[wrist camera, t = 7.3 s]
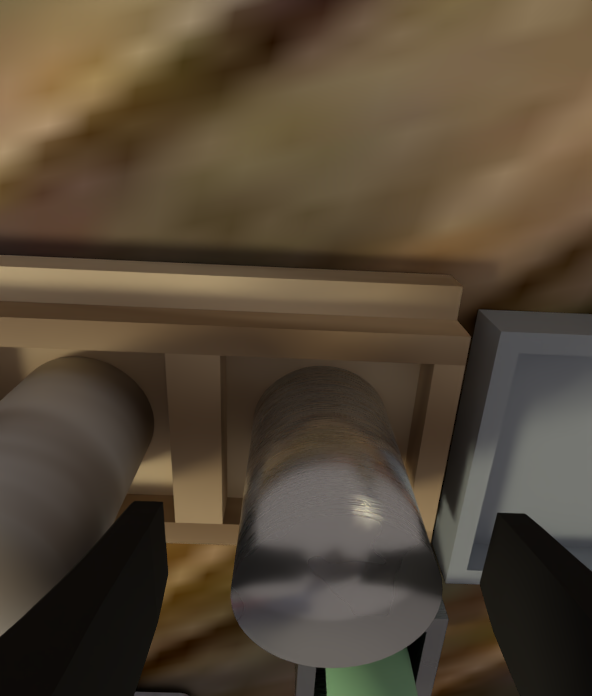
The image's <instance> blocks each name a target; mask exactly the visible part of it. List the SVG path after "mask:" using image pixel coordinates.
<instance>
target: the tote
mask: <svg viewBox="0 0 592 696" xmlns="http://www.w3.org/2000/svg"><path fill="white" fill-rule="evenodd" d="M497 513H525V514H526V515H528V516H529V517H530V518H531V519H533V520H534V521H535V522H536V523H537V524H538V525H540V526H541V527H542V528H543V529H544V530H545V531H547V532H548V533H549V534H550V535H551V536H552V537H553V538H554V539H556V540H557V541H558V542H559V543H560V544H561V545H562V546H564V547H565V548H566V549H567V550H568V551H569V552H570V553H571V554H573V555H574V556H575V557H576V558H577V559H578V560H579V561H580V562H582V563H583V564H584V565H585V566H586V567H587V568H589V569H590V570H591V571H592V314H575V313H552V312H528V311H505V310H482V309H478V313H477V318H476V323H475V329H474V334H473V339H472V344H471V349H470V354H469V359H468V364H467V369H466V374H465V379H464V384H463V389H462V394H461V399H460V404H459V409H458V414H457V419H456V424H455V429H454V434H453V439H452V444H451V449H450V454H449V459H448V464H447V470H446V475H445V480H444V485H443V490H442V495H441V500H440V505H439V510H438V515H437V520H436V525H435V530H434V535H433V540H432V544H433V547H434V550H435V553H436V556H437V559H438V562H439V565H440V568H441V571H442V574H443V577H444V580H445V583H455V584H480V579H481V575H482V571H483V567H484V563H485V559H486V555H487V551H488V547H489V544H490V540H491V536H492V532H493V528H494V524H495V520H496V516H497Z"/></svg>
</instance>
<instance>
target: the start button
mask: <svg viewBox="0 0 592 696" xmlns="http://www.w3.org/2000/svg"><path fill="white" fill-rule="evenodd" d="M325 670H326V687H327V696H418V694H417V689H416V685H415V680H414V676H413V671H412V666H411V662H410V657H409V653H408V648H407V647H406V648H404V649H403V650H401V651H399V652H397V653H395V654H393V655H391V656H389V657H386V658H384V659H382V660H379V661H375V662H372V663H369V664H364V665H360V666H354V667H345V668H325Z"/></svg>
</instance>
